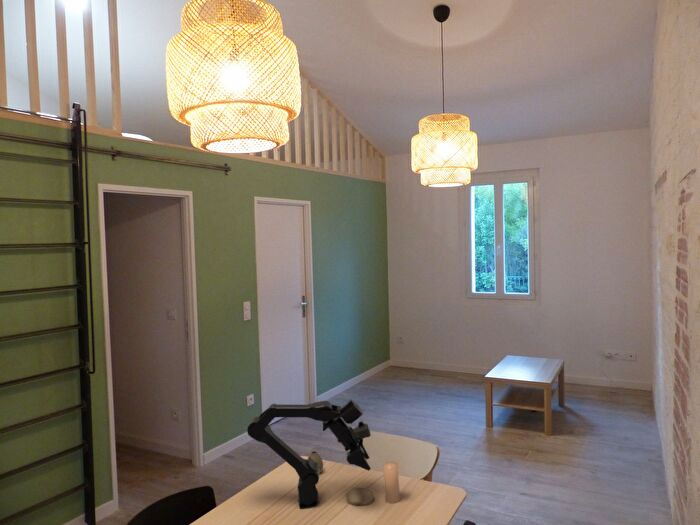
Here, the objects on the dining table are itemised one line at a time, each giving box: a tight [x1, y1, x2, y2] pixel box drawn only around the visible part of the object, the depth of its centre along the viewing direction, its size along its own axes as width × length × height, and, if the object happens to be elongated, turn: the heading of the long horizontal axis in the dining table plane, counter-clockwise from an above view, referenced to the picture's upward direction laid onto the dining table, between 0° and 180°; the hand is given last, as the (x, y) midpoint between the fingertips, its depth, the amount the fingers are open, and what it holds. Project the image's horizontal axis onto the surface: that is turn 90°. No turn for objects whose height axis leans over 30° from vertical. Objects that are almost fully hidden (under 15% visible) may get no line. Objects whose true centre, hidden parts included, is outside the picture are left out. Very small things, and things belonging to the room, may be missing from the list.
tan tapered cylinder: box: [383, 461, 401, 505], centre depth 188 cm, size 5×5×13 cm
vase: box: [307, 450, 324, 474], centre depth 214 cm, size 7×7×9 cm
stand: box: [346, 486, 375, 507], centre depth 190 cm, size 10×10×2 cm
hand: (369, 464), depth 189 cm, fingers open, 9 cm apart
